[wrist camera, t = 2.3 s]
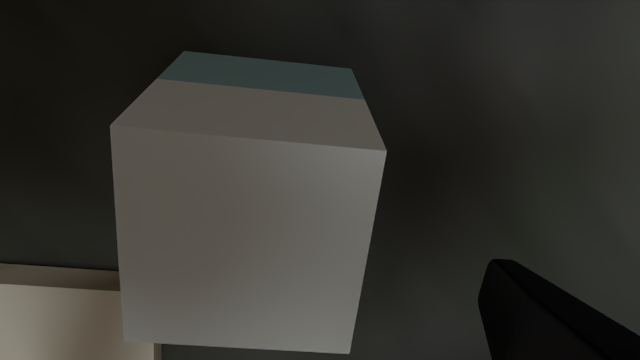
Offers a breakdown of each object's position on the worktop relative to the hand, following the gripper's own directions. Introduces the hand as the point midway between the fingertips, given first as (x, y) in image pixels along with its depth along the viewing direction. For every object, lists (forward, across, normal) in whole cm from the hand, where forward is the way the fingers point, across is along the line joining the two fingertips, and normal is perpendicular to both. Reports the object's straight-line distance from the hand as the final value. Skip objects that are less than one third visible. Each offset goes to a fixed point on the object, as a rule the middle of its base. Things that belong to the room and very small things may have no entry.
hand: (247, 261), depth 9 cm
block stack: (+6, 0, 0) cm, 6 cm away
